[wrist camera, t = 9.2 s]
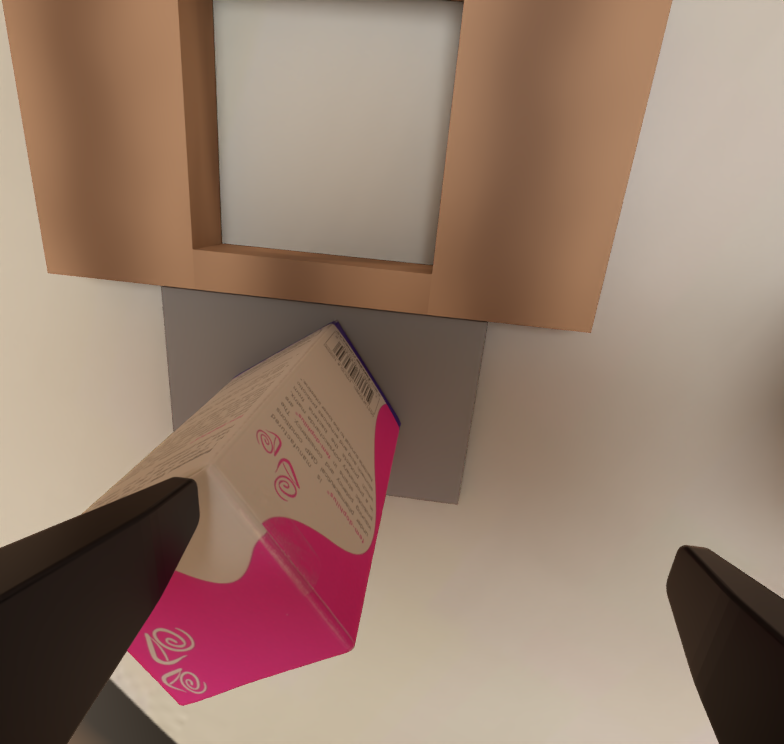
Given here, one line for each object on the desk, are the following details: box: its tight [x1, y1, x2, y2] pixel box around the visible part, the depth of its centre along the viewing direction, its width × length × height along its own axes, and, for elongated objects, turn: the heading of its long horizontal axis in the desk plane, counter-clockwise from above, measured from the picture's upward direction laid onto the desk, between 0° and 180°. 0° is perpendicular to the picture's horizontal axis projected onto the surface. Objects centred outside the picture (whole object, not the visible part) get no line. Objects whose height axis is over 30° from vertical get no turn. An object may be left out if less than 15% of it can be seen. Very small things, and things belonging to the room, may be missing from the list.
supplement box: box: [82, 320, 401, 706], centre depth 16 cm, size 6×6×12 cm
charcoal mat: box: [161, 286, 488, 505], centre depth 22 cm, size 14×9×1 cm, turn 85°
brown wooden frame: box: [2, 0, 672, 333], centre depth 17 cm, size 21×12×2 cm, turn 85°
